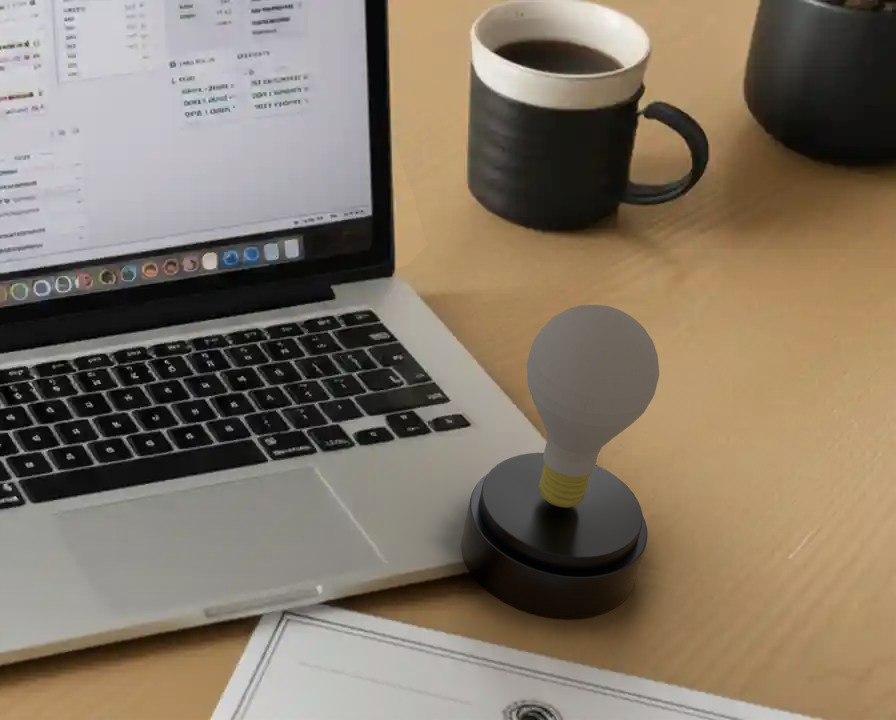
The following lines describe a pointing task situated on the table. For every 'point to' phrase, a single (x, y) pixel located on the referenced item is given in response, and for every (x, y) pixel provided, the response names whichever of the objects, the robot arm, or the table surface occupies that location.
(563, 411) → the light bulb
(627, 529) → the black round lamp base
